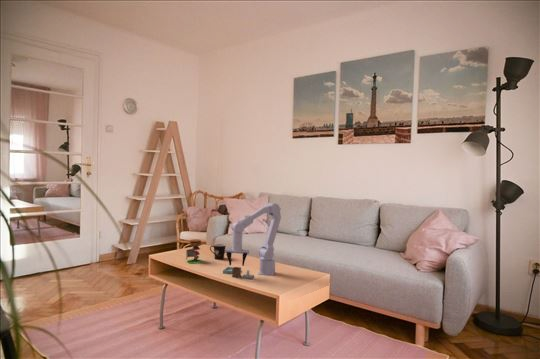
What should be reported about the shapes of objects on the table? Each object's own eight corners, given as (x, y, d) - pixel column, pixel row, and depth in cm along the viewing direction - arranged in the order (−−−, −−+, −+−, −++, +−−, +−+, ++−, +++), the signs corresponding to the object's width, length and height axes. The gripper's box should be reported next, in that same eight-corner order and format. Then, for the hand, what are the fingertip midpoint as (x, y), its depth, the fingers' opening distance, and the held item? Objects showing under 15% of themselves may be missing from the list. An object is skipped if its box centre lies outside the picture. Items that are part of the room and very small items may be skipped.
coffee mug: (227, 259, 257) (228, 245, 257) (217, 261, 251) (217, 246, 251) (218, 256, 266) (219, 242, 265) (208, 257, 260) (209, 244, 260)
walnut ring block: (240, 275, 217) (241, 267, 217) (238, 277, 213) (239, 269, 213) (234, 275, 218) (234, 266, 218) (232, 277, 214) (232, 268, 213)
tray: (240, 270, 228) (240, 267, 228) (236, 274, 220) (236, 271, 220) (227, 269, 230) (227, 266, 230) (222, 273, 221) (222, 270, 221)
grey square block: (253, 276, 216) (254, 269, 216) (251, 279, 211) (251, 272, 210) (244, 275, 217) (244, 268, 217) (241, 278, 212) (241, 271, 212)
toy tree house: (205, 260, 253) (206, 238, 253) (200, 264, 240) (201, 242, 240) (189, 259, 254) (190, 238, 254) (183, 263, 242) (184, 241, 241)
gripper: (250, 241, 218) (249, 264, 219) (226, 240, 219) (225, 263, 220) (248, 244, 211) (248, 267, 212) (224, 243, 212) (223, 266, 212)
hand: (236, 265), depth 215 cm, fingers open, 7 cm apart
